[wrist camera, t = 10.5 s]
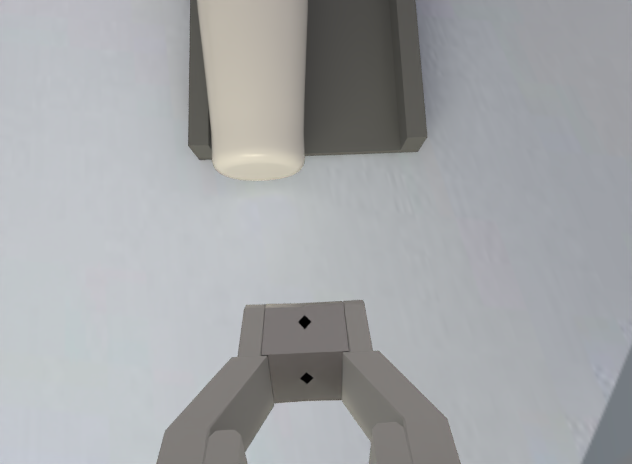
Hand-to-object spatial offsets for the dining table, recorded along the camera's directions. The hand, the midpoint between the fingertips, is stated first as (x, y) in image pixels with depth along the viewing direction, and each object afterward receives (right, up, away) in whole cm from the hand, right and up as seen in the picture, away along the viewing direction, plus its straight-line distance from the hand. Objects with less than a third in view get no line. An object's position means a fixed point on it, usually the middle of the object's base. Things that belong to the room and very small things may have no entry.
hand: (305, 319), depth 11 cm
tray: (-1, +16, +19) cm, 25 cm away
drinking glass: (-3, +5, +14) cm, 15 cm away
